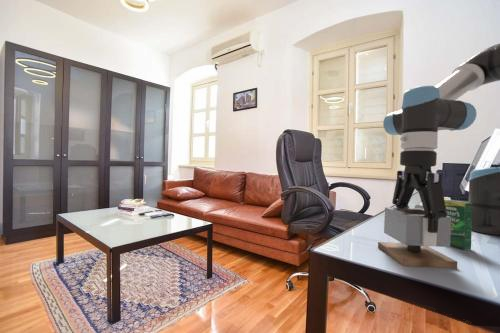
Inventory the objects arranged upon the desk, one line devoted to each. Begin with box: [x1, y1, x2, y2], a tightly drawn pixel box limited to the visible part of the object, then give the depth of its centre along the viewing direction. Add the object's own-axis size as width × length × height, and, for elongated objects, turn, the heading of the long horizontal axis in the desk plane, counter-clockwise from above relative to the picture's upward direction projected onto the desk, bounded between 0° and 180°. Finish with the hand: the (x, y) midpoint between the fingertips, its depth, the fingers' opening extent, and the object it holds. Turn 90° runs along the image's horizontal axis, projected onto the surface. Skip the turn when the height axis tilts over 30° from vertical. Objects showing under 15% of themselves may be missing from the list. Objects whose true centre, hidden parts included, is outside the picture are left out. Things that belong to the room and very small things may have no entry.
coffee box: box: [439, 198, 472, 251], centre depth 71 cm, size 8×3×13 cm, turn 12°
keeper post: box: [377, 241, 458, 269], centre depth 61 cm, size 12×12×11 cm
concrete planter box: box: [383, 206, 451, 248], centre depth 61 cm, size 10×10×7 cm
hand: (414, 238), depth 61 cm, fingers closed on concrete planter box, 10 cm apart
